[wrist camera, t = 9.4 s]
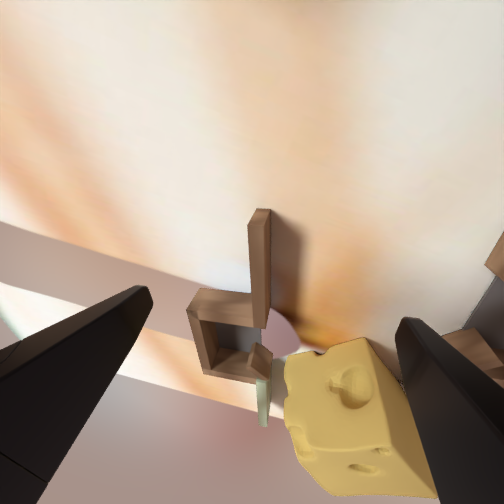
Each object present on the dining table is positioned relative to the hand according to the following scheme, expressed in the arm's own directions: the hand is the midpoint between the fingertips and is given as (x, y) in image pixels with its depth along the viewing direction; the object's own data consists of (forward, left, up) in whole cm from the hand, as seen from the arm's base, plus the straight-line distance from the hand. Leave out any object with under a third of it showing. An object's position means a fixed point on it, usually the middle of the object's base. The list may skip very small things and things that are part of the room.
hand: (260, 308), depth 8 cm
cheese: (-8, +22, -13) cm, 26 cm away
